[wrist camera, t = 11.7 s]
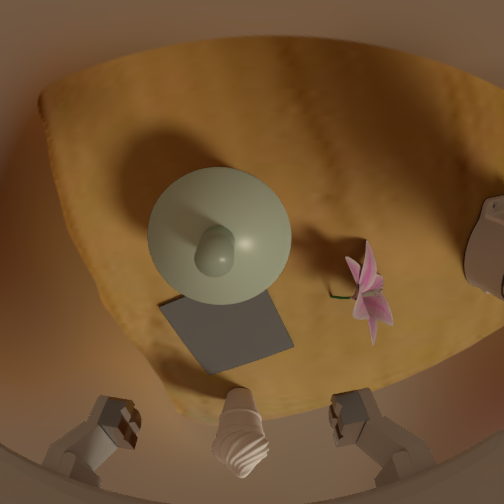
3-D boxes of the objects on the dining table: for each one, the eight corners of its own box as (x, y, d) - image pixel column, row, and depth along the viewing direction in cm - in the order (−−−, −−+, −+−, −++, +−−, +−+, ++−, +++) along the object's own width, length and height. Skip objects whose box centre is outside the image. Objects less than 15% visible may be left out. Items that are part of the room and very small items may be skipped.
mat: (255, 266, 34) (255, 267, 34) (293, 345, 39) (294, 346, 39) (159, 305, 36) (159, 307, 35) (209, 373, 41) (209, 375, 40)
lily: (373, 313, 39) (422, 322, 30) (312, 346, 35) (360, 367, 26) (358, 237, 39) (410, 231, 30) (292, 260, 34) (341, 258, 25)
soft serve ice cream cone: (216, 377, 41) (211, 463, 26) (268, 380, 42) (278, 465, 27) (214, 406, 44) (209, 483, 29) (260, 409, 45) (266, 485, 30)
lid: (254, 141, 22) (257, 140, 18) (309, 269, 27) (322, 293, 22) (126, 208, 24) (104, 222, 19) (192, 317, 28) (185, 347, 24)
